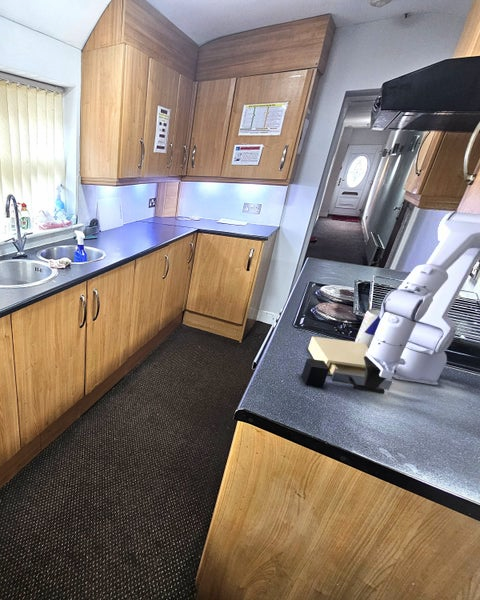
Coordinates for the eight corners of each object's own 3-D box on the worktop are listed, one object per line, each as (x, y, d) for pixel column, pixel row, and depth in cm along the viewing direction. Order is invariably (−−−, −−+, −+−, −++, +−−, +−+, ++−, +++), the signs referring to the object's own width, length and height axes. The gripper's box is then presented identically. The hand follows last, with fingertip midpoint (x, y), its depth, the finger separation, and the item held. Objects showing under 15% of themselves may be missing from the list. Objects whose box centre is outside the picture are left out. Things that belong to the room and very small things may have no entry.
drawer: (397, 400, 80) (402, 391, 79) (338, 391, 84) (341, 382, 82) (366, 363, 95) (369, 355, 94) (316, 356, 98) (319, 348, 97)
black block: (317, 379, 90) (324, 360, 87) (322, 388, 86) (329, 369, 84) (301, 376, 91) (307, 358, 88) (305, 385, 87) (311, 366, 85)
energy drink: (375, 352, 101) (390, 318, 97) (354, 347, 104) (367, 313, 100) (374, 345, 105) (388, 311, 101) (354, 340, 108) (366, 307, 103)
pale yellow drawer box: (381, 382, 88) (387, 368, 86) (322, 373, 92) (327, 359, 90) (358, 355, 100) (364, 342, 98) (308, 348, 104) (312, 336, 102)
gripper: (421, 360, 68) (396, 410, 74) (405, 331, 80) (385, 377, 85) (378, 350, 72) (357, 399, 77) (368, 324, 83) (351, 368, 89)
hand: (369, 386), depth 81 cm, fingers closed, pressing on drawer
